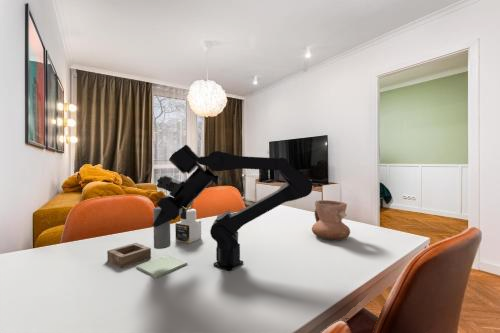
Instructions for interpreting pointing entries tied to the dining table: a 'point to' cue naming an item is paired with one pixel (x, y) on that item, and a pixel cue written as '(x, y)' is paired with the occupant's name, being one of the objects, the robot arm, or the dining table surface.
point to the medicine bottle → (188, 227)
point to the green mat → (161, 265)
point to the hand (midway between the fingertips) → (157, 223)
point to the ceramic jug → (330, 220)
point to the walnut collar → (128, 254)
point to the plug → (161, 232)
